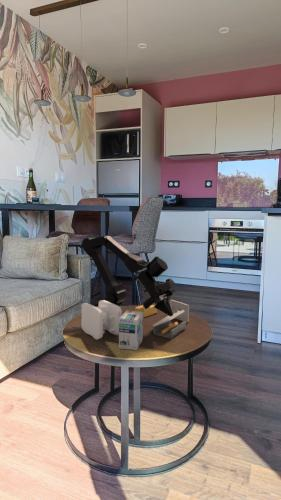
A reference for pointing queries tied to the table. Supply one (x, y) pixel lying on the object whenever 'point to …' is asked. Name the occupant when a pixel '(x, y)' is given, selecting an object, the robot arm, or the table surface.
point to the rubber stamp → (146, 311)
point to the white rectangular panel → (168, 318)
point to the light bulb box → (130, 330)
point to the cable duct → (169, 329)
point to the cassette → (178, 305)
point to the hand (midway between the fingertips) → (172, 315)
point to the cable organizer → (100, 318)
